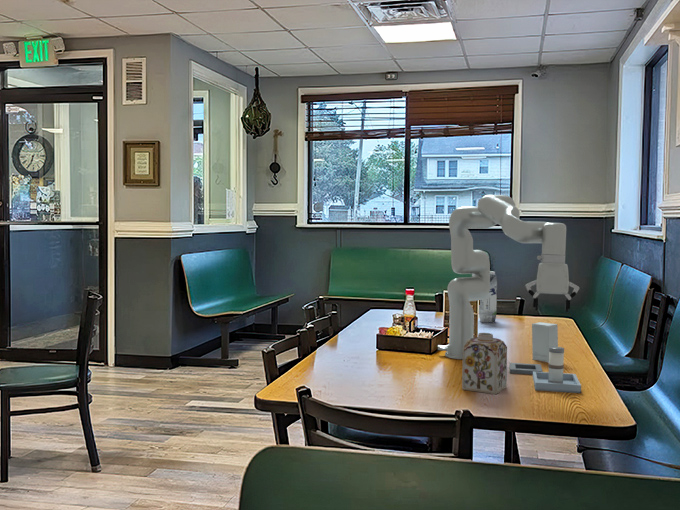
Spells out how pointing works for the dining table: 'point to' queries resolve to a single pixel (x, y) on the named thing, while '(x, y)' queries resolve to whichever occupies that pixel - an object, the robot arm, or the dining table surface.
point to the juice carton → (489, 302)
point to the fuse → (556, 365)
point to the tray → (569, 383)
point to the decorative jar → (484, 364)
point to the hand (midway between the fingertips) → (551, 310)
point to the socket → (524, 368)
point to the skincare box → (543, 340)
